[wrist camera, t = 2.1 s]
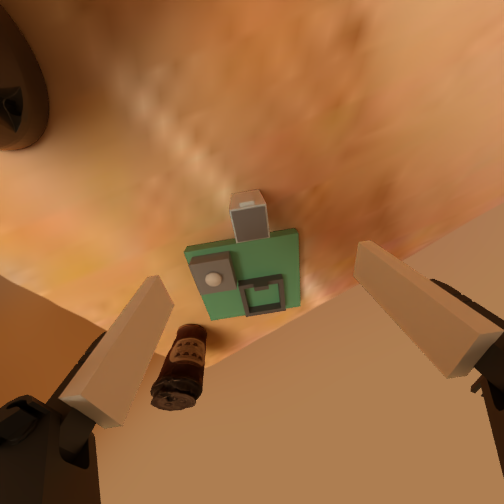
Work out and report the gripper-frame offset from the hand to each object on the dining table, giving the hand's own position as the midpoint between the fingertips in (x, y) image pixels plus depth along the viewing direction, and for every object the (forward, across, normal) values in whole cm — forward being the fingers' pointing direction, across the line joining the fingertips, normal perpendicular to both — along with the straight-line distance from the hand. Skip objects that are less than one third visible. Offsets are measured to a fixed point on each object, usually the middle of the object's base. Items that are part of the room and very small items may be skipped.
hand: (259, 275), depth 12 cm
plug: (+17, 0, 0) cm, 17 cm away
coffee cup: (+17, -17, -26) cm, 35 cm away
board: (+17, -2, -13) cm, 21 cm away
